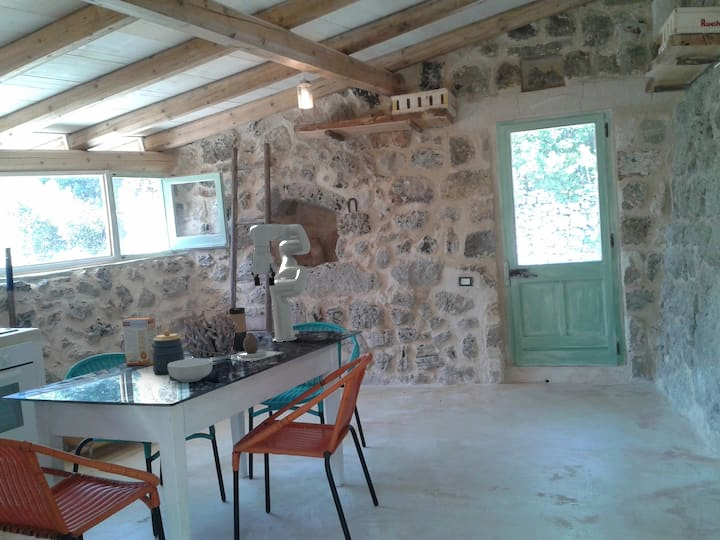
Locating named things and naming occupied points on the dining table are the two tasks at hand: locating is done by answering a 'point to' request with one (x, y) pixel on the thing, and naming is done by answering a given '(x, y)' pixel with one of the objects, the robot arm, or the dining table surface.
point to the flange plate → (253, 355)
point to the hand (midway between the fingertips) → (264, 285)
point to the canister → (166, 351)
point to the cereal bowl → (190, 369)
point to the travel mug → (239, 327)
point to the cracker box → (139, 340)
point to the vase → (250, 343)
